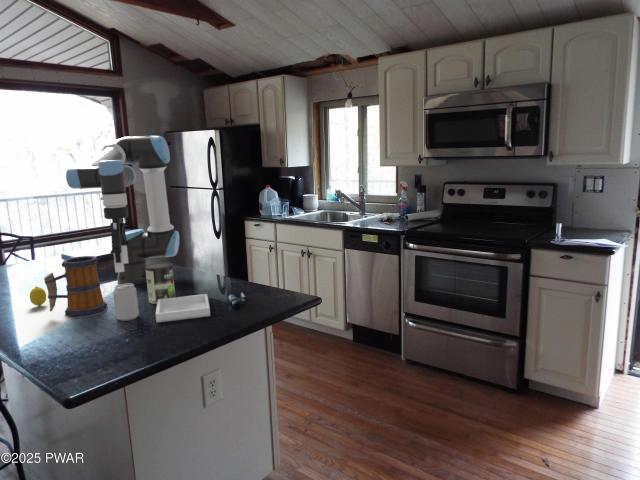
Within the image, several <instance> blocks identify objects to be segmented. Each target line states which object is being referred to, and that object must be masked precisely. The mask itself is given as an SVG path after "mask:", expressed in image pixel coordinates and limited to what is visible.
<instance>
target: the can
mask: <svg viewBox="0 0 640 480" xmlns="http://www.w3.org/2000/svg"><path fill="white" fill-rule="evenodd" d="M112 292H113V293H112V294H113V303H114V309H115V317H116V319H117V320H119V321H121V322H125V321H126V322H127V321H128V322H129V321H132V320H135V319H137V318H138V316H139V315H140V311H139V303H138V295H137V294H138V292H137V288H136V287H135V285H134V284H129V283H128V284H117V285H115V286H114V290H112Z"/></svg>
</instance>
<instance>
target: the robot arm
mask: <svg viewBox="0 0 640 480" xmlns="http://www.w3.org/2000/svg"><path fill="white" fill-rule="evenodd" d="M170 162H171V154H170V147H169V145H168V142H167V141H166V139H165V137H164V136H161V135H142V136H139V135H138V136H137V135H136V136H129V135H128V136H123V137H121V138H117V139H115V140H112V141H111V142H109V143H107V144H106V145H104V147H103V148H102V149H101V152H99V153H98V154H97V155H96V156H94V157H92V158H90V160H88V162H86V163H85V164H83V165H81V166H75V167H74V166H73V167H69V168H67V170H66V172H65V180H66V183H67V185H68V187H69V188H70V189H74V190H75V189H76V190H77V189H79V190H82V189H101V197H100V200H101V201H102V206H103V207H104V208H103V213H104V214H103V217H104V219H106V220H111V221H112V222H110V224H109V225H110V233H111V250H110V254H112V256H113V262H114V270H115V272H114V273H118V274H117V278H116V280H117V285H120V284H128V283H129V284H134V286H135V285H140V284H147V279H146V269H145V266H147V265H149V264H148V259H153V258H154V259H155V258H156V259H157V258H170V257H175V256H177V254H178V251H179V248H180V233H179V231H178V230H175V227H174V225H173V224H171V220H170V214H169V211H170V210H169V204H168V196H167V186H166V180H165V179H166V178H165V169H167V167H168V165H167V164H168V163H170ZM130 165H138V170H140V171H141V172H142V175H143V182H144V189H145V197H146V203H147V204H146V205H147V212H148V220H149V226H148V227H147V228H146V229H147V230H146V231H147V232H145V230H144V229H143V228H138V229H132V230H131V229H130V230H128V231H126V228H125V222H124V219H125V218H128V217H129V208H128V199H127V197H128V196H127V190H126V188H127V187H129V186H132V185H133V184H134V183H135V182H136V180H137V173H136V170H134V168H133V167H132V166H130Z"/></svg>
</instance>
